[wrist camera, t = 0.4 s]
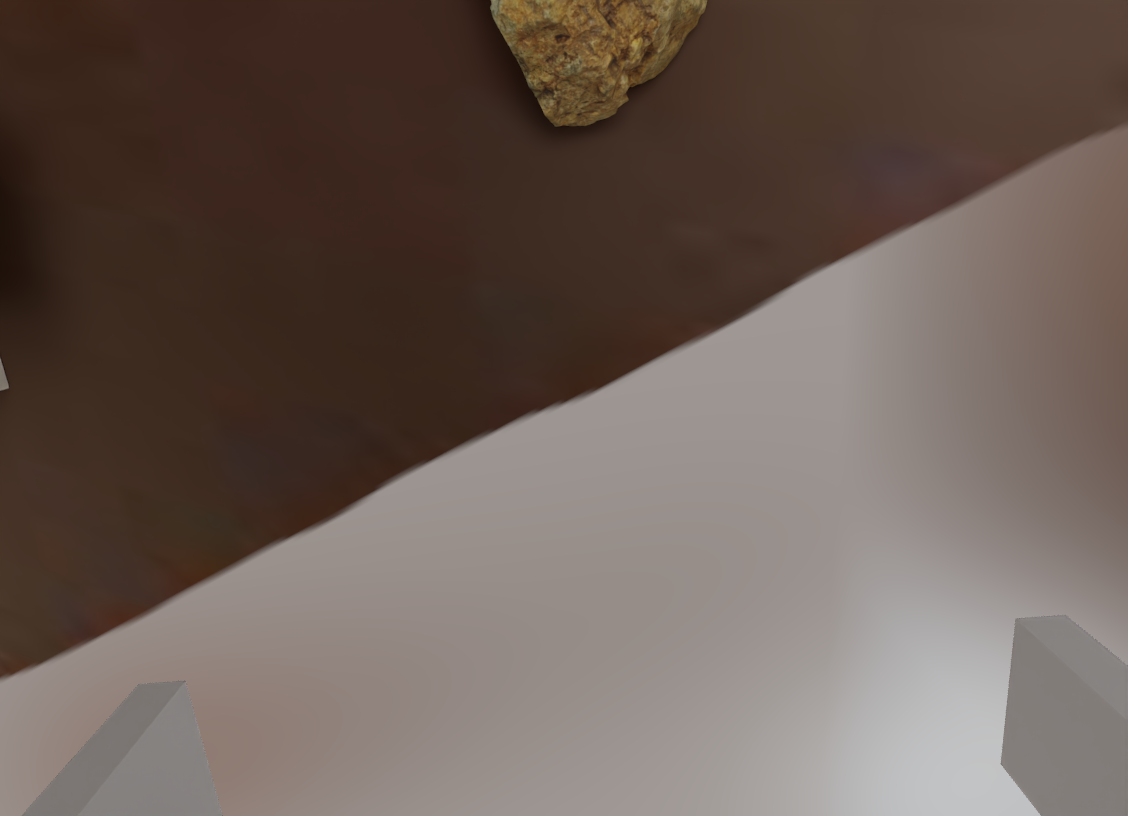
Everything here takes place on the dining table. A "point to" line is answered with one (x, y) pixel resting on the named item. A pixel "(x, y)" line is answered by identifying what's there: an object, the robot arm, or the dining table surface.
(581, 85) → the rock
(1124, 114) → the dining table surface
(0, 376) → the frame
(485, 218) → the dining table surface
